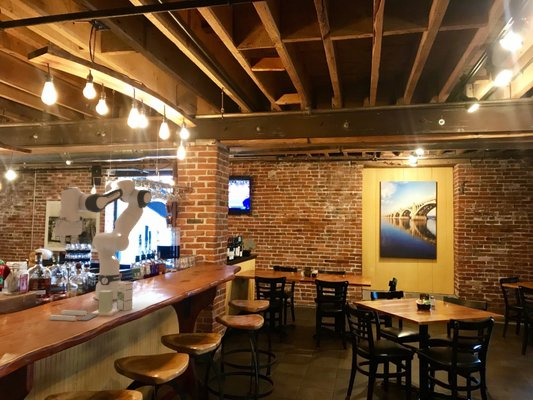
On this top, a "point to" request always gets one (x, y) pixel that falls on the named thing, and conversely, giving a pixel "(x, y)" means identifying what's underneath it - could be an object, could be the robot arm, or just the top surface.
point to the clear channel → (73, 318)
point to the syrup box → (124, 295)
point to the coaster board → (106, 312)
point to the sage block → (105, 300)
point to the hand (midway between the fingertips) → (68, 244)
